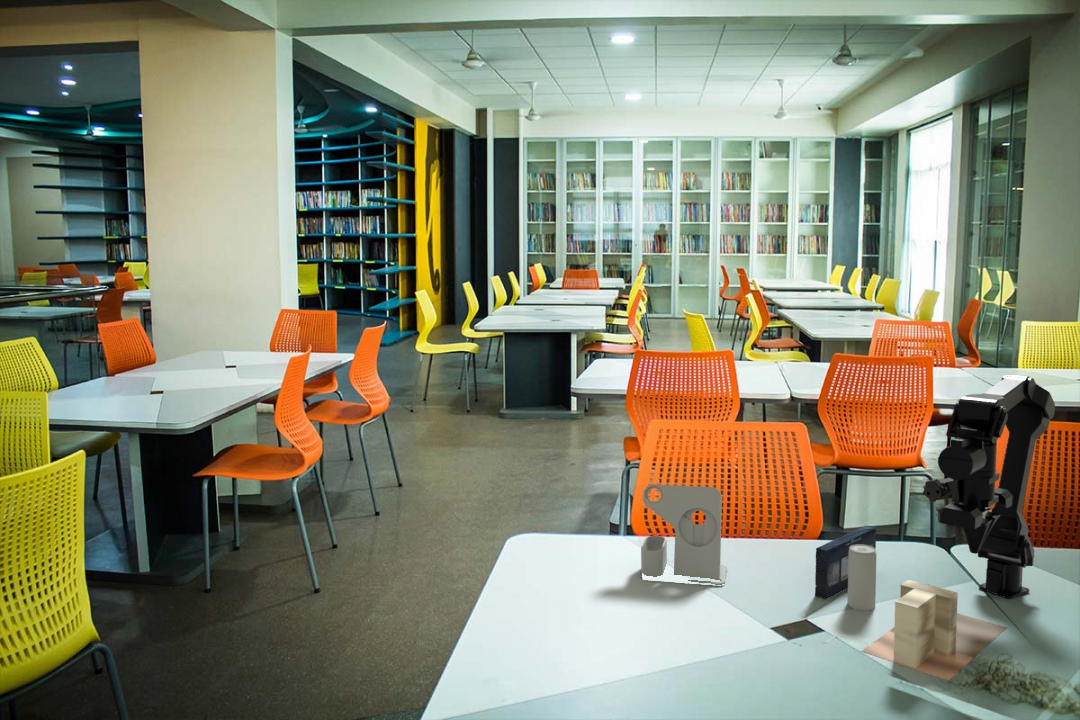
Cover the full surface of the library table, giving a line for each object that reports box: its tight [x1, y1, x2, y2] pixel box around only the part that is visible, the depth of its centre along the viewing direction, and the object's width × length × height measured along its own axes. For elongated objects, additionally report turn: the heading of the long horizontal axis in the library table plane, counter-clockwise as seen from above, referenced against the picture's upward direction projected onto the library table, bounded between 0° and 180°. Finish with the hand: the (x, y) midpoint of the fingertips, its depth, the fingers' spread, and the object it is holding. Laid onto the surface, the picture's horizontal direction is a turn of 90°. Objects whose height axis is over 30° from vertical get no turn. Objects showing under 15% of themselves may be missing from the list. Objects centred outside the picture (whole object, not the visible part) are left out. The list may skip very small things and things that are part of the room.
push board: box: [861, 612, 1008, 681], centre depth 147 cm, size 25×14×1 cm, turn 134°
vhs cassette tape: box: [814, 525, 877, 600], centre depth 173 cm, size 18×3×10 cm, turn 129°
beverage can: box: [847, 544, 877, 611], centre depth 161 cm, size 5×5×12 cm
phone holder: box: [640, 483, 728, 585], centre depth 180 cm, size 17×10×18 cm, turn 74°
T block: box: [894, 579, 959, 668], centre depth 141 cm, size 10×8×10 cm
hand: (974, 552), depth 156 cm, fingers closed
